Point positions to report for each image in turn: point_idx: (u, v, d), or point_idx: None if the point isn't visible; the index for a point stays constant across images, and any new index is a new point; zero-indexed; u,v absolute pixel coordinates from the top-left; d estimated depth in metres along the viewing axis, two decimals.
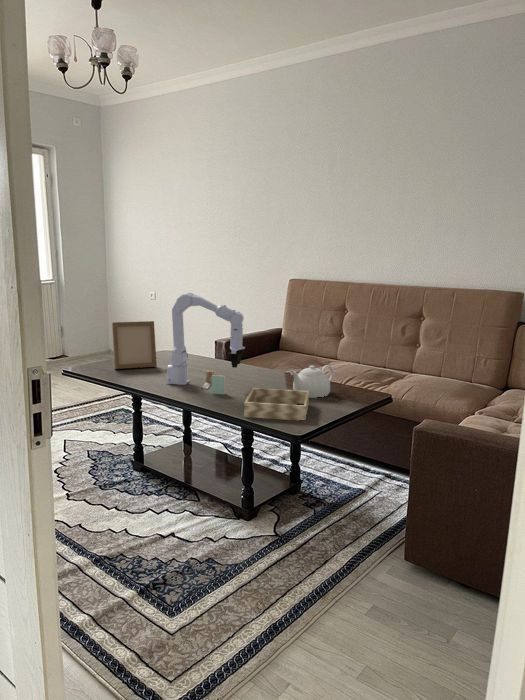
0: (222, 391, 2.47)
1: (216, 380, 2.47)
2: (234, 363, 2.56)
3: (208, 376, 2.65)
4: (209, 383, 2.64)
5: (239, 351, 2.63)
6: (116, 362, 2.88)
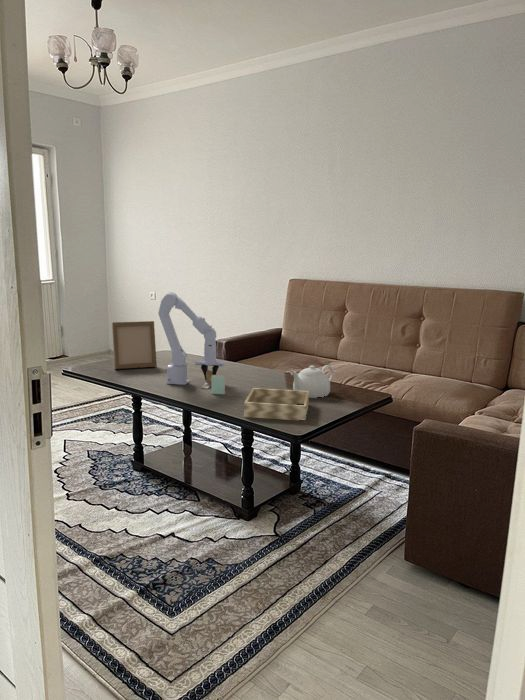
0: (222, 391, 2.47)
1: (216, 380, 2.47)
2: None
3: (208, 376, 2.65)
4: (209, 383, 2.64)
5: None
6: (116, 362, 2.88)
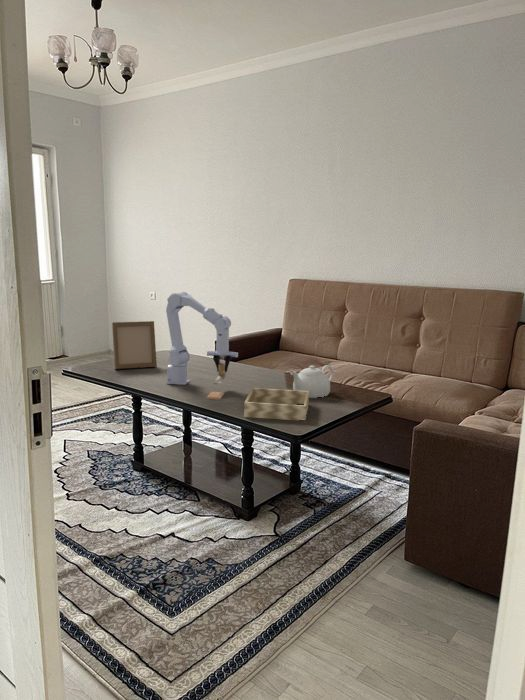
0: None
1: None
2: None
3: (220, 370, 2.54)
4: (222, 377, 2.53)
5: None
6: (116, 362, 2.88)
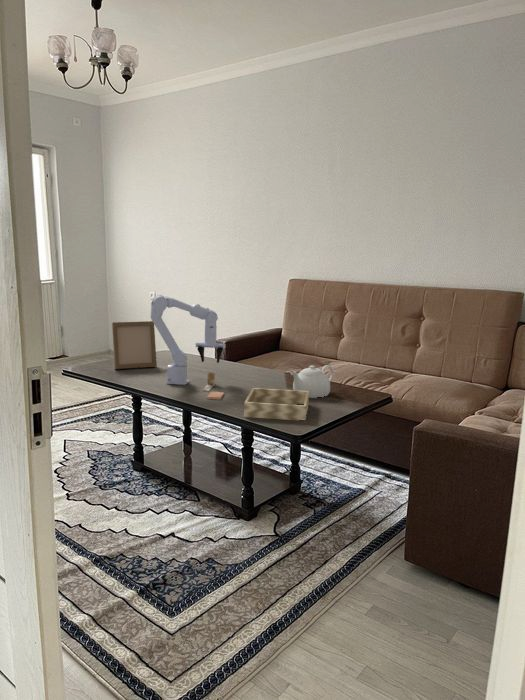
0: None
1: None
2: None
3: (209, 378, 2.61)
4: (210, 385, 2.59)
5: None
6: (116, 362, 2.88)
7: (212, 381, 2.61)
